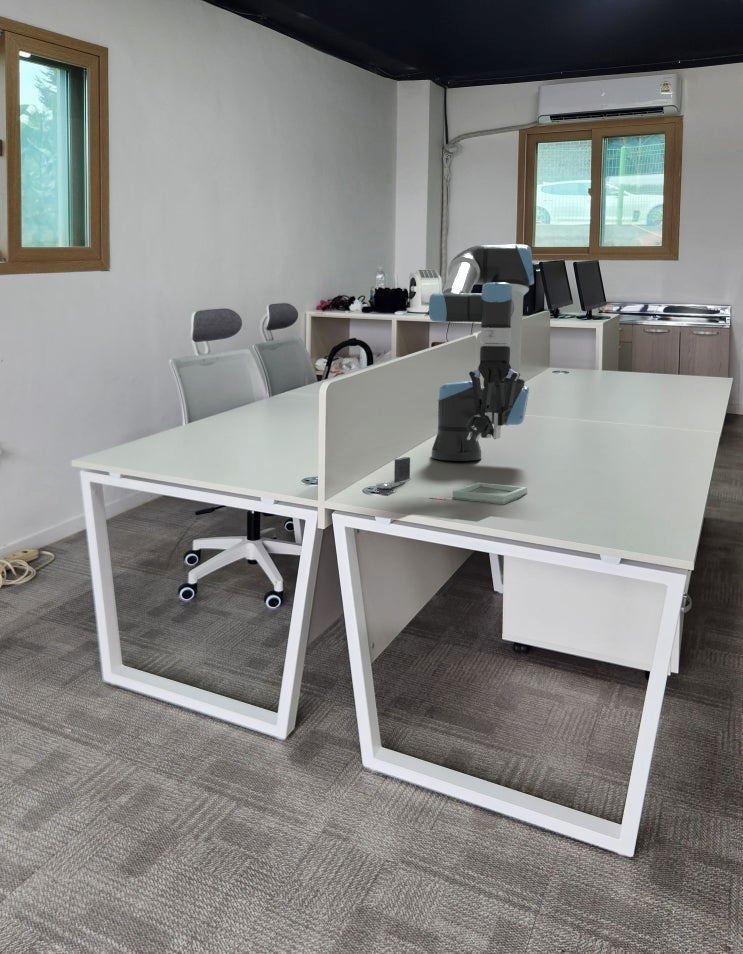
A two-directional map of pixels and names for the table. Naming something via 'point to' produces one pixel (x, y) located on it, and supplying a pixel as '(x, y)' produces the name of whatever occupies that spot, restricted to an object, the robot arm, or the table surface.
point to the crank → (398, 474)
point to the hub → (384, 491)
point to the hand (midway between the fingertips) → (492, 437)
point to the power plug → (479, 427)
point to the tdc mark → (437, 498)
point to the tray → (490, 497)
